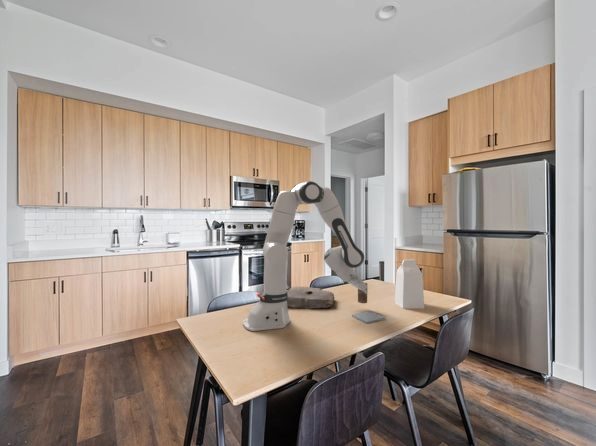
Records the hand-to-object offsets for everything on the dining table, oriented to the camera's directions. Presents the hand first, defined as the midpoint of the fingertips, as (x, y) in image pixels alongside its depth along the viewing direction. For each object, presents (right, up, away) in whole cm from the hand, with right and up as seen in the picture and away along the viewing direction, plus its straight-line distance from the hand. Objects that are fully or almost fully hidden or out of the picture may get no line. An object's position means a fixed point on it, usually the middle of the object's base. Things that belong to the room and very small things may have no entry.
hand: (363, 290), depth 149 cm
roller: (-1, -6, 0) cm, 6 cm away
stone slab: (-30, -11, +17) cm, 36 cm away
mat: (-1, -10, -12) cm, 16 cm away
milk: (+28, -10, +7) cm, 30 cm away
